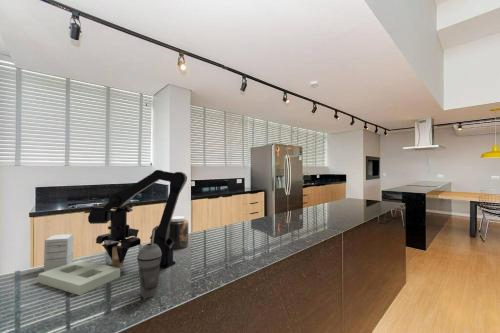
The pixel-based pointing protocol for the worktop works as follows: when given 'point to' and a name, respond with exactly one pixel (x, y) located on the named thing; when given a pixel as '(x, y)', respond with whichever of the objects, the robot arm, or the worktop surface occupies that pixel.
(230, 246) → the worktop surface
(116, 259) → the peg
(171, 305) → the worktop surface
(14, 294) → the worktop surface
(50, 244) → the supplement box
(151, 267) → the beverage cup
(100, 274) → the board
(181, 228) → the jar
